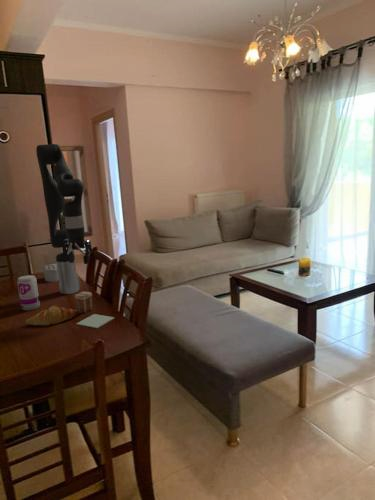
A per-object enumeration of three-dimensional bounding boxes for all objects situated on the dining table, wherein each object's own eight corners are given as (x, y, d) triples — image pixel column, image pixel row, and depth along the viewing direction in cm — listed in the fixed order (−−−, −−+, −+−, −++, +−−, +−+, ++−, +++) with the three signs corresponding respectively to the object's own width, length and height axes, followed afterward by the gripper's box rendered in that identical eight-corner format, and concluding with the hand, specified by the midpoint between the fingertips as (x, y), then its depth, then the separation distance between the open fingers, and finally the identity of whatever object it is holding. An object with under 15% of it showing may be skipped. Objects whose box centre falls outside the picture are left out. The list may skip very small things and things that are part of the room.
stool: (84, 308, 171) (82, 291, 169) (93, 309, 169) (91, 292, 167) (76, 312, 167) (74, 295, 165) (85, 313, 164) (83, 296, 163)
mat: (94, 314, 162) (94, 314, 162) (114, 318, 157) (114, 317, 157) (76, 324, 153) (76, 323, 153) (97, 328, 148) (97, 327, 148)
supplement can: (33, 311, 170) (29, 279, 167) (17, 310, 172) (12, 279, 169) (43, 304, 178) (39, 274, 175) (28, 304, 180) (23, 274, 177)
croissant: (27, 336, 152) (25, 323, 147) (26, 318, 159) (23, 305, 154) (80, 324, 160) (79, 312, 155) (76, 308, 167) (75, 295, 162)
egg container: (63, 275, 231) (61, 261, 229) (63, 280, 219) (61, 266, 217) (45, 277, 228) (43, 263, 226) (44, 283, 216) (42, 268, 214)
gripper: (93, 225, 160) (97, 262, 163) (69, 225, 166) (73, 260, 169) (81, 228, 153) (85, 266, 156) (56, 227, 160) (60, 264, 163)
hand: (79, 263), depth 163 cm, fingers open, 8 cm apart
